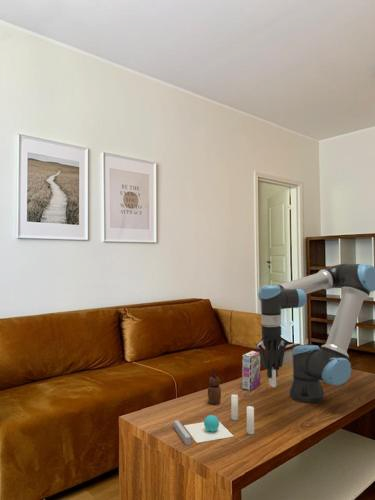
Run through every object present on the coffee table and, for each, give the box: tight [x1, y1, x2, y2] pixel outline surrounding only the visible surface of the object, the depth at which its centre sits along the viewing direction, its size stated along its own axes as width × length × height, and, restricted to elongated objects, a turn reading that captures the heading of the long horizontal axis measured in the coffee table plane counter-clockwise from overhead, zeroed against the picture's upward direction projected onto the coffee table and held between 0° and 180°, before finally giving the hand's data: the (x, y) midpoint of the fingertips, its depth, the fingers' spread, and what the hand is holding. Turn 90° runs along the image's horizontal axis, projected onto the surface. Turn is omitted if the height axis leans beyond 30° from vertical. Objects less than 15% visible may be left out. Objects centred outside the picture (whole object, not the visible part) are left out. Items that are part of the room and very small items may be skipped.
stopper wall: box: [173, 419, 192, 446], centre depth 133 cm, size 2×14×2 cm, turn 19°
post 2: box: [246, 405, 255, 435], centre depth 135 cm, size 3×3×9 cm
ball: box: [203, 414, 220, 432], centre depth 136 cm, size 6×6×6 cm
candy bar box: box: [241, 350, 261, 392], centre depth 183 cm, size 11×5×16 cm, turn 145°
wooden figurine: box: [207, 366, 222, 405], centre depth 163 cm, size 7×6×15 cm
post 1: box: [230, 393, 239, 421], centre depth 146 cm, size 3×3×9 cm
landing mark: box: [183, 421, 235, 444], centre depth 136 cm, size 14×14×1 cm
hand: (272, 385), depth 145 cm, fingers closed
